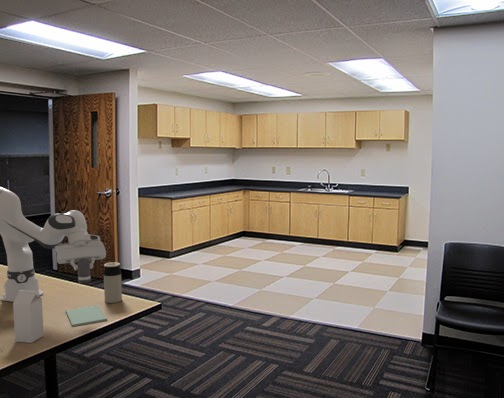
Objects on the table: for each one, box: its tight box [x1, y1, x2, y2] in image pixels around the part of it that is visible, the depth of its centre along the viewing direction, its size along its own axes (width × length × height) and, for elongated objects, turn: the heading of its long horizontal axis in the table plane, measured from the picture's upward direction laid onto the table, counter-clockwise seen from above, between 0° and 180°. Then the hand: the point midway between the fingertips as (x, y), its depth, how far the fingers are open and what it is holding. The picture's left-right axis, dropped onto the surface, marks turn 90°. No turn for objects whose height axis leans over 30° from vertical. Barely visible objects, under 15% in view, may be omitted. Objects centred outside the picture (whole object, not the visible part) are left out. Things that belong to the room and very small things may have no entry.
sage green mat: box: [65, 304, 108, 327], centre depth 200 cm, size 20×14×1 cm
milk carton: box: [12, 290, 45, 344], centre depth 175 cm, size 7×7×19 cm
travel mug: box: [103, 261, 123, 304], centre depth 220 cm, size 8×8×18 cm
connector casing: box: [77, 258, 92, 284], centre depth 198 cm, size 5×5×10 cm
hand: (84, 268), depth 197 cm, fingers closed on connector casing, 5 cm apart
